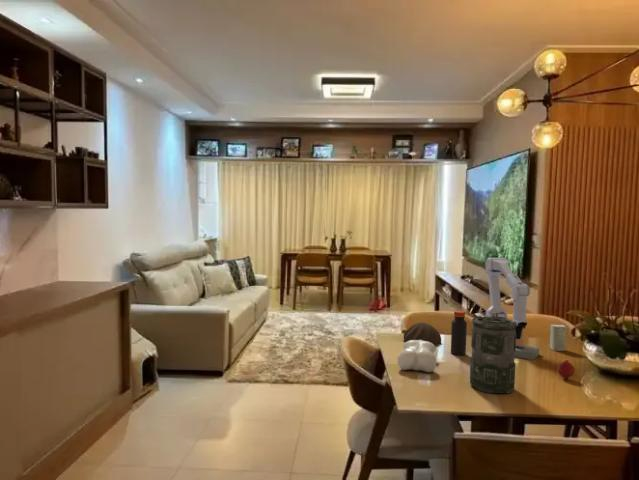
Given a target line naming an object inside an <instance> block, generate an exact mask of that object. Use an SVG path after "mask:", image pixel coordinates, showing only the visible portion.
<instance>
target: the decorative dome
mask: <svg viewBox="0 0 639 480" xmlns="http://www.w3.org/2000/svg"><path fill="white" fill-rule="evenodd" d="M410 340H422V341H428V342H430V343H432V344H433V345H434V346H435V347H436V346H437V345H438V346H439V345H441V344H442V336H441V333H440V332H439V331H438V330H437V329H436V328H435V327H434V326H433V325H431V324H429V323H426V322H417V323H414V324H412V325H410V326H409V328H407V330H405V332H404V334H403V343H406V342H407V341H410Z"/></svg>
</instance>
